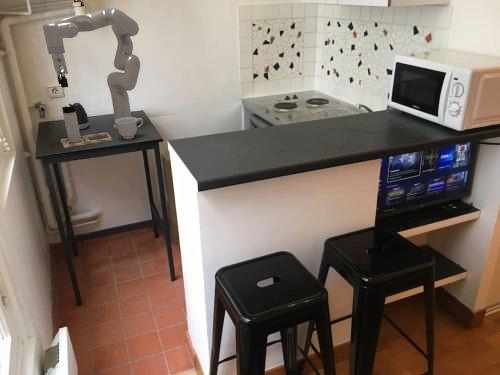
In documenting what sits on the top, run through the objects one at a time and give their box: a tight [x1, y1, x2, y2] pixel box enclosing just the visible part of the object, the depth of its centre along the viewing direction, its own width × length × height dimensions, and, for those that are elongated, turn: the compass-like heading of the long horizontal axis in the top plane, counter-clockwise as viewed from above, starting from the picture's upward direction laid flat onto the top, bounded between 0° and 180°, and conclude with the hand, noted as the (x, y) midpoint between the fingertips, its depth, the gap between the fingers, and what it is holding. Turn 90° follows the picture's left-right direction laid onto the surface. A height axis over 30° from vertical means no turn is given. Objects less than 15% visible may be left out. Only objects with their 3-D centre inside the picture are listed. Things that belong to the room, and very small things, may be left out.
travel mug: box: [61, 105, 82, 144], centre depth 220 cm, size 6×7×20 cm
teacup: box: [114, 116, 144, 140], centre depth 229 cm, size 12×15×10 cm
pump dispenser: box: [68, 102, 90, 130], centre depth 246 cm, size 10×10×15 cm
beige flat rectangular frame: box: [60, 131, 113, 149], centre depth 227 cm, size 24×12×1 cm, turn 119°
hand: (63, 85), depth 212 cm, fingers open, 9 cm apart
